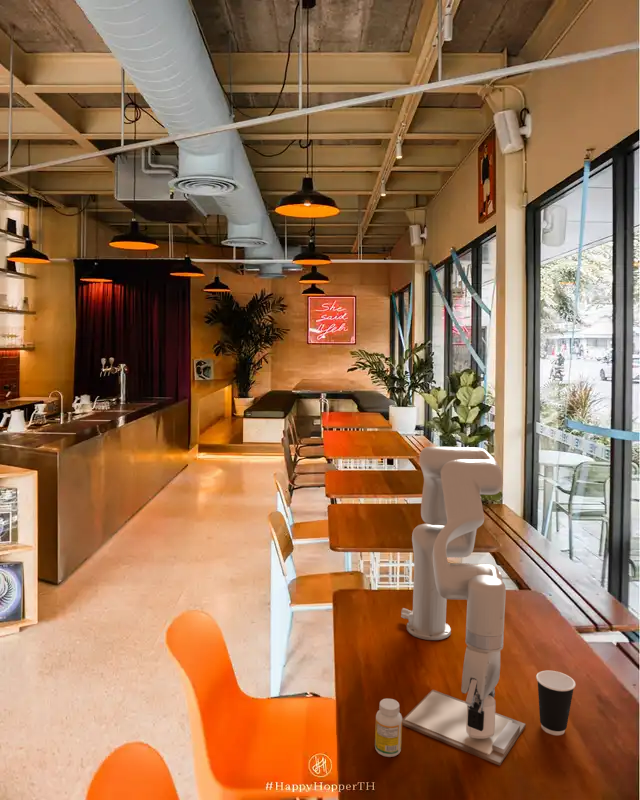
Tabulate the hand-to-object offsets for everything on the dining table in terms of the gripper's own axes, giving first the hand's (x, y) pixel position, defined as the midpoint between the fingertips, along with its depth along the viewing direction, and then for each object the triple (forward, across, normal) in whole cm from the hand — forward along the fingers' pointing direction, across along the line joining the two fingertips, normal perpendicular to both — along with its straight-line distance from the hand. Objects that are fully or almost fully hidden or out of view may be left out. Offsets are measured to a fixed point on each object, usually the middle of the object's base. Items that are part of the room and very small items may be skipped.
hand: (480, 720), depth 128 cm
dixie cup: (+5, -14, +11) cm, 18 cm away
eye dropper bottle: (+3, 0, 0) cm, 3 cm away
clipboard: (+4, -3, -5) cm, 7 cm away
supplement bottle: (+5, +14, -14) cm, 20 cm away
